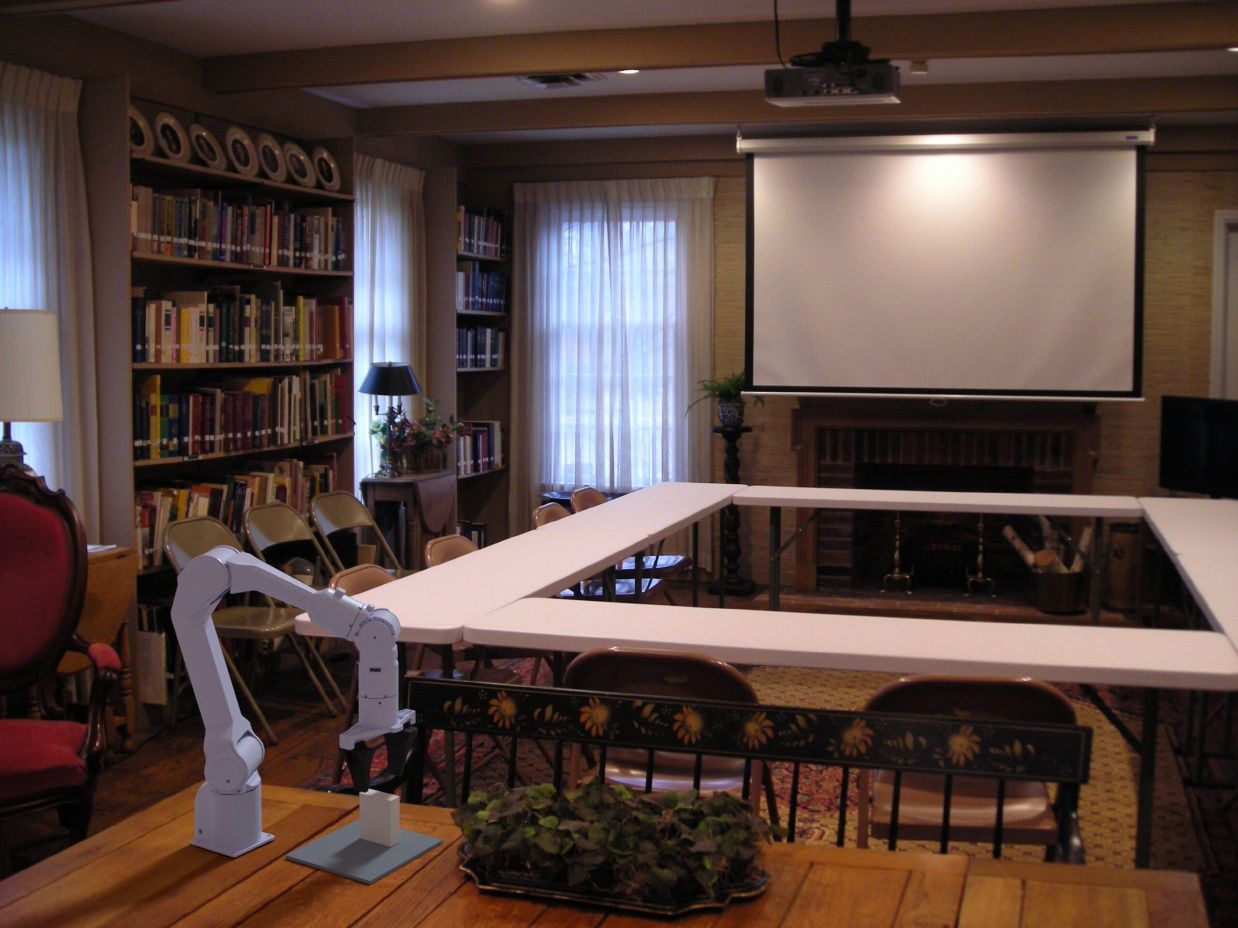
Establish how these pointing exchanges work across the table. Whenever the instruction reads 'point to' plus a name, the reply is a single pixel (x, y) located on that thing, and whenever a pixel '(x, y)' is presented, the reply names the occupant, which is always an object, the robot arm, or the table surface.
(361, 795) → the block
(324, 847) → the mat
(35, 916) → the table surface
